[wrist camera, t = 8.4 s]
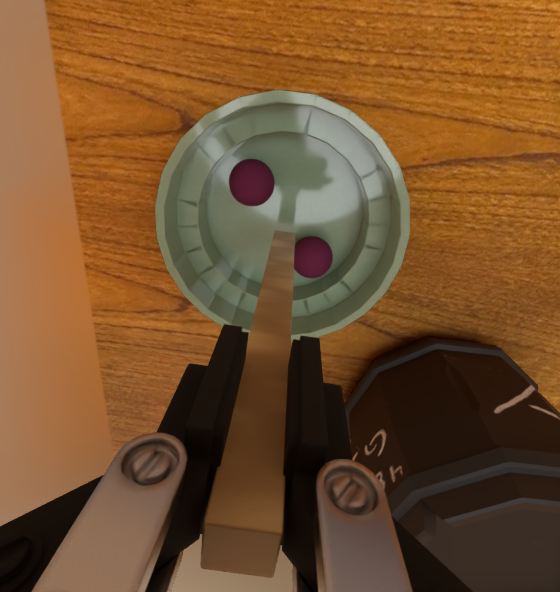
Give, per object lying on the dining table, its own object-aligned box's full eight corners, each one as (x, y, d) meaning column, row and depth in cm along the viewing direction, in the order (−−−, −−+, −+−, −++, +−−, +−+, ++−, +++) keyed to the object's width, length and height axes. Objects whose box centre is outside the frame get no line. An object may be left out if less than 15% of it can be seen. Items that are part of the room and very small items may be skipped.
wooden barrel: (521, 453, 39) (650, 646, 24) (354, 470, 41) (383, 655, 27) (537, 309, 31) (738, 467, 17) (331, 340, 33) (355, 502, 19)
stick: (272, 249, 25) (199, 569, 7) (274, 230, 24) (202, 523, 6) (292, 252, 25) (273, 580, 7) (295, 233, 24) (283, 533, 6)
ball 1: (223, 176, 26) (214, 182, 24) (256, 146, 26) (251, 150, 23) (252, 210, 28) (246, 220, 25) (284, 183, 27) (282, 190, 24)
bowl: (140, 197, 28) (103, 215, 23) (303, 39, 23) (304, 15, 18) (270, 335, 33) (265, 376, 28) (427, 230, 28) (457, 256, 23)
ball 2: (282, 247, 29) (281, 261, 26) (315, 222, 28) (317, 234, 25) (307, 276, 30) (308, 292, 27) (338, 253, 29) (343, 268, 26)
